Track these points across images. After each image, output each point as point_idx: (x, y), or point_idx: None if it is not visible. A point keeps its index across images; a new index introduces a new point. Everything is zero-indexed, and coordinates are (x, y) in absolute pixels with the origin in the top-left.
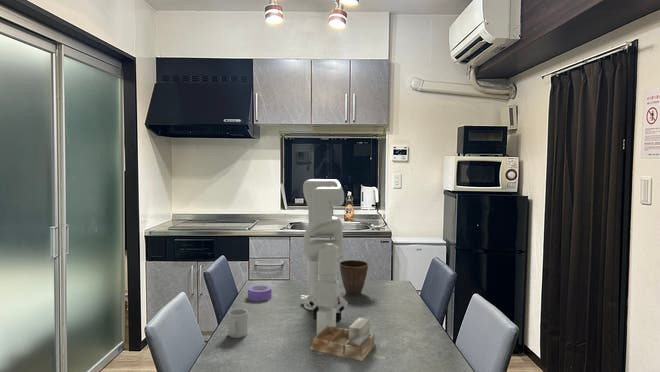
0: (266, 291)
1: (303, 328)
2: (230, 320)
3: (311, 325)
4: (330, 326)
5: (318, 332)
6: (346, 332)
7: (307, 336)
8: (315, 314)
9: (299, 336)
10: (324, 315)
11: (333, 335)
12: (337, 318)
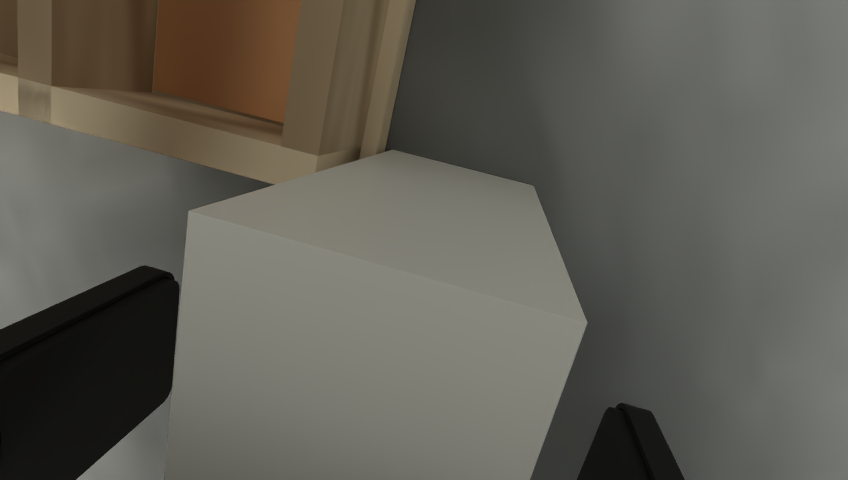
0: None
1: (769, 357)
2: None
3: None
4: (261, 159)
5: (504, 184)
6: (14, 70)
7: (664, 78)
8: (635, 478)
9: (806, 45)
10: (290, 210)
11: (259, 99)
12: (78, 304)
